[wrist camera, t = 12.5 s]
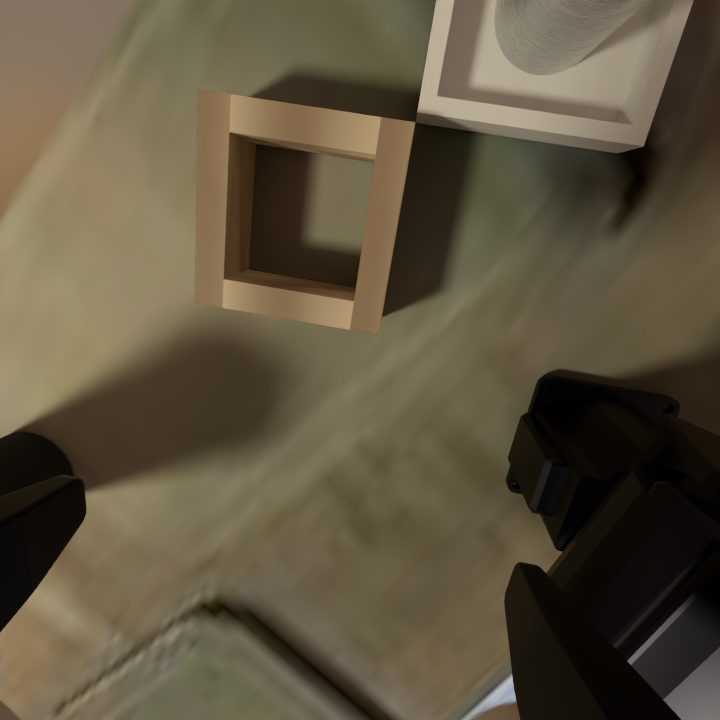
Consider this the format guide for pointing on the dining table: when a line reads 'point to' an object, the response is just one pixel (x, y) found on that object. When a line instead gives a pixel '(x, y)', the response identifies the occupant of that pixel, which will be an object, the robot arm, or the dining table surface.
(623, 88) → the tray
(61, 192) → the dining table surface
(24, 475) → the drinking cup
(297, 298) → the socket block
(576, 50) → the copper-capped peg
